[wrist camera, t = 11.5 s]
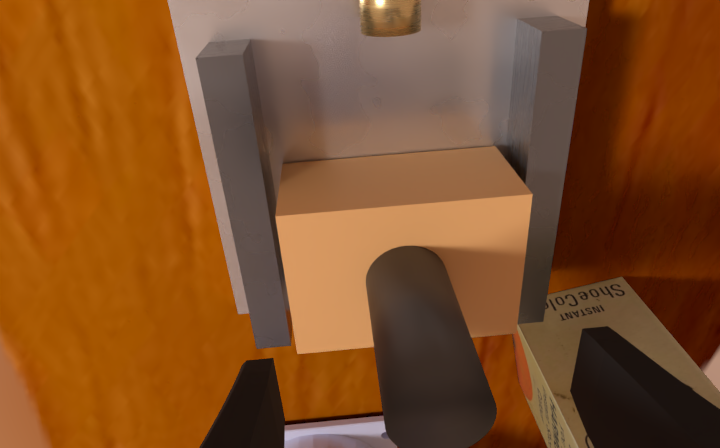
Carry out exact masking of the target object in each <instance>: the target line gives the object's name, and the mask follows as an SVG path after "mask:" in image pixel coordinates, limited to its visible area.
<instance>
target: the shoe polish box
mask: <svg viewBox="0 0 720 448" xmlns="http://www.w3.org/2000/svg"><path fill="white" fill-rule="evenodd" d="M605 326H608V327H610V328H611V329H613V330H614V331H615V332H617V333H618V334H619V335H621V336H622V337H623V338H625V339H626V340H627V341H628V342H630V343H631V344H632V345H634V346H635V347H636V348H638V349H639V350H640V351H641V352H643V353H644V354H645V355H647V356H648V357H649V358H651V359H652V360H653V361H655V362H656V363H657V364H658V365H660V366H661V367H662V368H664V369H665V370H666V371H668V372H669V373H670V374H672V375H673V376H674V377H676V378H677V379H678V380H680V381H681V382H683V383H684V384H685V385H687V386H688V387H689V388H691V389H692V390H694V391H695V392H696V393H698V394H699V395H701V396H702V397H703V398H705V399H706V400H708V401H709V402H711V403H712V404H713V405H715V406H716V407H718V408H719V409H720V392H719V391H718V389H717V388H716V387H715V386H714V385H713V384H712V382H711V381H710V380H709V379H708V378H707V376H706V375H705V374H704V373H703V372H702V370H701V369H700V368H699V367H698V366H697V365H696V363H695V362H694V361H693V360H692V359H691V357H690V356H689V355H688V354H687V353H686V352H685V350H684V349H683V348H682V347H681V346H680V345H679V343H678V342H677V341H676V340H675V339H674V337H673V336H672V335H671V334H670V333H669V332H668V330H667V329H666V328H665V327H664V326H663V324H662V323H661V322H660V321H659V320H658V319H657V317H656V316H655V315H654V314H653V313H652V311H651V310H650V309H649V308H648V307H647V306H646V304H645V303H644V302H643V301H642V300H641V299H640V297H639V296H638V295H637V294H636V293H635V291H634V290H633V289H632V288H631V287H630V286H629V284H628V283H627V282H626V281H625V280H624V278H623V277H618V278H614V279H610V280H606V281H601V282H597V283H593V284H589V285H585V286H581V287H577V288H572V289H568V290H564V291H560V292H556V293H552V294H548V295H547V300H546V307H545V314H544V320H543V322H535V323H525V324H517V332H516V333H515V334H512V336H513V344H514V351H515V358H516V365H517V372H518V380H519V383H520V386H521V388H522V390H523V393H524V395H525V397H526V399H527V402H528V404H529V406H530V409H531V411H532V413H533V416H534V418H535V420H536V422H537V425H538V427H539V429H540V432H541V434H542V436H543V438H544V441H545V443H546V445H547V448H594V446H593V444H592V442H591V441H590V439H589V437H588V435H587V433H586V431H585V428H584V426H583V423H582V421H581V418H580V416H579V414H578V411H577V408H576V406H575V403H574V400H573V398H572V395H571V392H570V388H571V383H572V378H573V373H574V368H575V363H576V358H577V353H578V348H579V342H580V337H581V332H582V329H584V328H594V327H605Z"/></svg>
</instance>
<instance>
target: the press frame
mask: <svg viewBox="0 0 720 448" xmlns="http://www.w3.org/2000/svg"><path fill="white" fill-rule="evenodd" d="M168 4H169V9H170V13H171V18H172V22H173V26H174V31H175V35H176V40H177V44H178V49H179V53H180V58H181V62H182V66H183V71H184V75H185V80H186V84H187V89H188V93H189V97H190V102H191V106H192V111H193V115H194V120H195V124H196V129H197V133H198V137H199V142H200V146H201V151H202V155H203V160H204V164H205V169H206V173H207V177H208V182H209V186H210V191H211V195H212V200H213V204H214V209H215V213H216V217H217V222H218V226H219V231H220V235H221V240H222V244H223V249H224V253H225V257H226V262H227V266H228V271H229V275H230V280H231V284H232V289H233V293H234V297H235V302H236V306H237V311H238V314H245V313H249V314H250V319H251V324H252V328H253V333H254V338H255V343H256V347H257V349H259V348H269V347H280V346H291V337H292V318H291V312H290V305H289V299H288V293H287V287H286V280H285V274H284V268H283V262H282V256H281V249H280V243H279V237H278V231H277V224H276V218H275V214H276V207H277V200H278V192H279V185H280V178H281V170H282V164H285V163H297V162H309V161H321V160H333V159H345V158H357V157H369V156H381V155H393V154H406V153H418V152H430V151H442V150H454V149H466V148H478V147H490V146H496V148H497V149H498V150H499V151H500V153H501V154H502V155H503V157H504V158H505V159H506V160H507V162H508V163H509V164H510V166H511V167H512V168H513V169H514V171H515V172H516V173H517V175H518V176H519V177H520V178H521V180H522V181H523V182H524V184H525V185H526V186H527V187H528V189H529V190H530V191H531V193H532V194H533V196H532V205H531V213H530V222H529V230H528V239H527V247H526V255H525V264H524V272H523V281H522V289H521V298H520V306H519V315H518V323H517V324H525V323H535V322H543V320H544V314H545V307H546V300H547V294H548V287H549V280H550V273H551V267H552V260H553V253H554V247H555V240H556V233H557V227H558V220H559V213H560V207H561V200H562V193H563V187H564V180H565V173H566V167H567V160H568V153H569V147H570V140H571V133H572V127H573V120H574V113H575V106H576V100H577V93H578V86H579V80H580V73H581V66H582V60H583V53H584V46H585V40H586V33H587V28H586V27H585V26H586V19H587V13H588V6H589V0H421V31H419V32H417V33H414V34H410V35H405V36H396V37H372V36H366V35H363V34H361V27H360V9H359V0H168Z"/></svg>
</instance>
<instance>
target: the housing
mask: <svg viewBox="0 0 720 448" xmlns="http://www.w3.org/2000/svg"><path fill="white" fill-rule="evenodd" d="M359 9H360V27H361V34H363V35H366V36H372V37H396V36H405V35H410V34H414V33H417V32H419V31H421V0H359Z"/></svg>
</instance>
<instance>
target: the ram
mask: <svg viewBox="0 0 720 448" xmlns="http://www.w3.org/2000/svg"><path fill="white" fill-rule="evenodd" d="M532 196H533V194H532V193H531V191H530V190H529V189H528V187H527V186H526V185H525V184H524V182H523V181H522V180H521V178H520V177H519V176H518V175H517V173H516V172H515V171H514V169H513V168H512V167H511V166H510V164H509V163H508V162H507V160H506V159H505V158H504V157H503V155H502V154H501V153H500V151H499V150H498V149H497V148H496V146H490V147H478V148H466V149H454V150H442V151H430V152H418V153H406V154H393V155H381V156H369V157H357V158H345V159H333V160H321V161H309V162H297V163H285V164H282V170H281V178H280V185H279V192H278V200H277V207H276V214H275V218H276V224H277V231H278V237H279V243H280V249H281V256H282V262H283V268H284V274H285V280H286V287H287V293H288V299H289V305H290V312H291V318H292V324H293V330H294V336H295V343H296V349H297V354H303V353H314V352H325V351H335V350H346V349H356V348H367V347H374V349H375V357H376V364H377V372H378V379H379V387H380V394H381V402H382V409H383V417H384V424H385V430H386V433H387V435H388V437H389V439H390V440H391V441H392V442H393V443H394V444H395V445H396V446H398V447H399V448H468V447H470V446H472V445H473V444H475V443H476V442H478V441H479V440H480V439H482V438H483V437H484V436H485V435H486V434H487V433H488V432H489V430H490V429H491V427H492V426H493V424H494V421H495V419H496V414H497V408H496V403H495V401H494V398H493V395H492V393H491V390H490V387H489V384H488V382H487V379H486V376H485V374H484V371H483V368H482V365H481V363H480V360H479V357H478V354H477V352H476V349H475V346H474V344H473V341H472V338H473V337H483V336H494V335H505V334H515V333H516V332H517V323H518V315H519V306H520V298H521V289H522V281H523V272H524V264H525V255H526V247H527V239H528V230H529V222H530V213H531V205H532Z"/></svg>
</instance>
